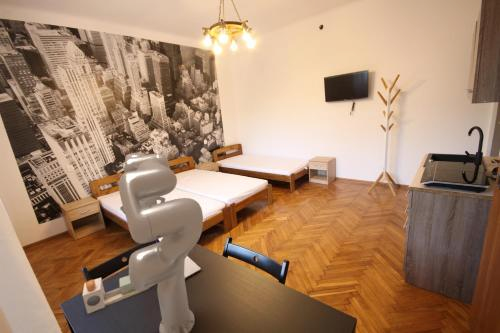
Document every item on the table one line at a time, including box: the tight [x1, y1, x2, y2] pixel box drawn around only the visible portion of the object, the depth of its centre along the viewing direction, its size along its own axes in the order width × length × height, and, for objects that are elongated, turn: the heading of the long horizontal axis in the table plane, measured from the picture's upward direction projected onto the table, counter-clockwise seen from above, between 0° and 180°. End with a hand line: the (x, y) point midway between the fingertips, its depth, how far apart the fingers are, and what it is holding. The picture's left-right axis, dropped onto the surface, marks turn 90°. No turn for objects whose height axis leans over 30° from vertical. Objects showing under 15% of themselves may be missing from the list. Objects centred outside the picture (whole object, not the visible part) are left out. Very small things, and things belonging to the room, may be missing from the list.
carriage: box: [118, 274, 135, 294], centre depth 102 cm, size 6×10×10 cm, turn 120°
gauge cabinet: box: [82, 277, 106, 315], centre depth 96 cm, size 8×6×9 cm
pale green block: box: [104, 286, 152, 307], centre depth 102 cm, size 7×18×6 cm, turn 120°
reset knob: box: [85, 279, 96, 291], centre depth 93 cm, size 3×3×3 cm
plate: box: [184, 255, 202, 279], centre depth 114 cm, size 19×19×2 cm
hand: (146, 220), depth 98 cm, fingers open, 9 cm apart
